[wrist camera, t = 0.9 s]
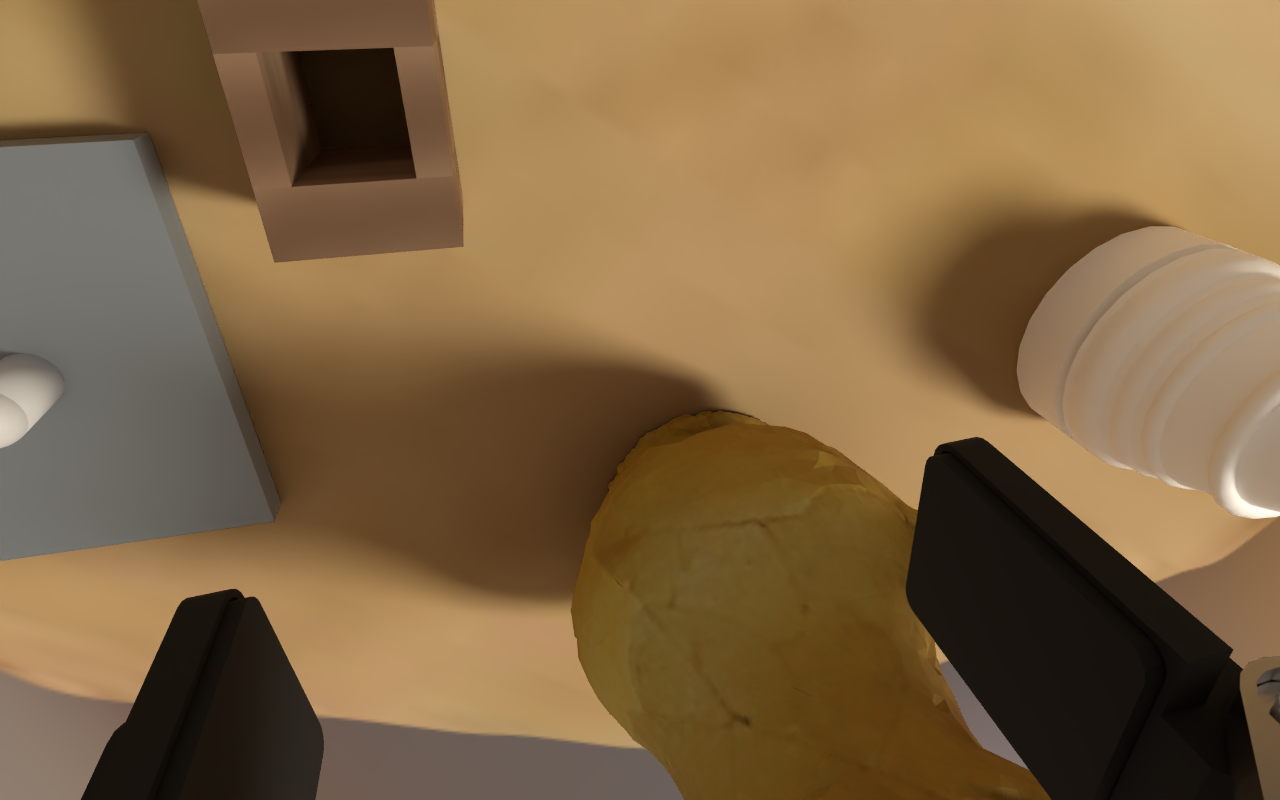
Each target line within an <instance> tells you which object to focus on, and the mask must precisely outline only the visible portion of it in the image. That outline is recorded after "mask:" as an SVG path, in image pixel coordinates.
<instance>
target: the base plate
mask: <svg viewBox="0 0 1280 800" xmlns="http://www.w3.org/2000/svg"><path fill="white" fill-rule="evenodd" d="M280 504H281V501H280V499H279V496H278V493H277V490H276V487H275V485H274V482H273V479H272V476H271V473H270V471H269V468H268V465H267V462H266V459H265V457H264V454H263V451H262V448H261V445H260V443H259V440H258V437H257V434H256V431H255V429H254V426H253V423H252V420H251V417H250V415H249V412H248V409H247V406H246V403H245V401H244V398H243V395H242V392H241V389H240V387H239V384H238V381H237V378H236V375H235V373H234V370H233V367H232V364H231V361H230V359H229V356H228V353H227V350H226V347H225V345H224V342H223V339H222V336H221V333H220V331H219V328H218V325H217V322H216V319H215V317H214V314H213V311H212V308H211V305H210V303H209V300H208V297H207V294H206V291H205V289H204V286H203V283H202V280H201V277H200V275H199V272H198V269H197V266H196V263H195V261H194V258H193V255H192V252H191V249H190V247H189V244H188V241H187V238H186V235H185V233H184V230H183V227H182V224H181V221H180V219H179V216H178V213H177V210H176V207H175V205H174V202H173V199H172V196H171V193H170V191H169V188H168V185H167V182H166V179H165V177H164V174H163V171H162V168H161V165H160V163H159V160H158V157H157V154H156V151H155V149H154V146H153V143H152V140H151V137H150V135H149V132H144V133H125V134H106V135H88V136H69V137H50V138H31V139H12V140H0V561H4V560H11V559H18V558H25V557H32V556H39V555H46V554H53V553H60V552H67V551H74V550H81V549H88V548H95V547H102V546H109V545H115V544H122V543H129V542H136V541H143V540H150V539H157V538H164V537H171V536H178V535H185V534H192V533H199V532H206V531H213V530H220V529H227V528H234V527H241V526H248V525H255V524H262V523H269V522H275V519H276V516H277V513H278V510H279V507H280Z"/></svg>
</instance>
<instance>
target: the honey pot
mask: <svg viewBox="0 0 1280 800" xmlns="http://www.w3.org/2000/svg"><path fill="white" fill-rule="evenodd" d="M1016 371H1017V377H1018V382H1019V388H1020V392H1021V394H1022V395H1023V397H1024V399H1025V400H1026V402H1027V403H1028V405H1029V407H1030V408H1031V409H1033V410H1034V411H1035V412H1037V413H1038V414H1039V415H1041V416H1042V417H1043V418H1045V419H1046V420H1047V421H1049V422H1050V423H1051V424H1053V425H1054V426H1055V427H1057V428H1058V429H1059V430H1061V431H1062V432H1063V433H1065V434H1066V435H1067V436H1069V437H1070V438H1072V439H1073V440H1074V441H1075V442H1077V443H1078V444H1080V445H1081V446H1082V447H1084V448H1085V449H1086V450H1087V451H1088V452H1090V453H1091V454H1093V455H1094V456H1096V457H1097V458H1099V459H1100V460H1102V461H1103V462H1105V463H1108V464H1110V465H1112V466H1116V467H1121V468H1125V469H1130V470H1135V471H1136V472H1138V473H1140V474H1142V475H1146V476H1150V477H1155V478H1159V479H1160V480H1161V481H1163V482H1164V483H1166V484H1168V485H1170V486H1175V487H1180V488H1184V489H1195V490H1199V491H1202V492H1205V493H1209V494H1212V495H1213V497H1214V500H1215V502H1216V503H1217V504H1218V505H1220V506H1221V507H1223V508H1224V509H1225V510H1227V511H1228V512H1229V513H1231V514H1233V515H1237V516H1242V517H1247V518H1253V519H1258V518H1268V517H1276V516H1279V515H1280V265H1278V264H1277V263H1275V262H1272V261H1270V260H1267V259H1265V258H1262V257H1260V256H1257V255H1253V254H1250V253H1247V252H1245V251H1242V250H1240V249H1236V248H1233V247H1231V246H1228V245H1226V244H1223V243H1220V242H1217V241H1214V240H1212V239H1209V238H1206V237H1203V236H1200V235H1197V234H1194V233H1192V232H1189V231H1186V230H1183V229H1180V228H1177V227H1173V226H1149V227H1145V228H1142V229H1138V230H1134V231H1131V232H1127V233H1123V234H1121V235H1119V236H1117V237H1115V238H1113V239H1111V240H1109V241H1108V242H1106V243H1104V244H1102V245H1100V246H1098V247H1096V248H1094V249H1093V250H1092V251H1090V252H1089V253H1088V254H1087V255H1085V256H1084V257H1083V258H1082V259H1080V260H1079V261H1078V262H1077V263H1075V264H1074V265H1073V266H1071V267H1070V268H1069V269H1068V270H1067V271H1066V272H1065V273H1064V274H1063V275H1062V276H1061V278H1060V279H1059V280H1058V281H1057V282H1056V283H1055V284H1054V285H1053V287H1052V288H1051V289H1050V290H1049V291H1048V292H1047V293H1046V295H1045V296H1044V298H1043V299H1042V301H1041V303H1040V304H1039V306H1038V307H1037V309H1036V311H1035V312H1034V314H1033V315H1032V317H1031V319H1030V320H1029V323H1028V325H1027V328H1026V331H1025V333H1024V336H1023V339H1022V341H1021V344H1020V347H1019V354H1018V362H1017V370H1016Z"/></svg>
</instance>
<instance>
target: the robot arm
mask: <svg viewBox="0 0 1280 800" xmlns="http://www.w3.org/2000/svg"><path fill="white" fill-rule="evenodd" d="M906 596H907V600H908V603H909V605H910V607H911V609H912V611H913V612H914V614H915V615H916V616H917V618H918V619H919V620H920V622H921V623H922V625H923V626H924V627H925V629H926V630H927V631H928V633H929V634H930V635H931V637H932V638H933V639H934V641H935V642H936V644H937V645H938V646H939V648H940V649H941V650H942V652H943V653H944V654H945V656H946V657H947V659H948V660H949V661H950V663H951V664H952V665H953V667H954V668H955V669H956V671H957V672H958V673H959V675H960V676H961V678H962V679H963V680H964V682H965V683H966V684H967V685H968V687H969V688H970V690H971V691H972V692H973V694H974V695H975V696H976V698H977V699H978V700H979V702H980V703H981V704H982V706H983V707H984V709H985V710H986V711H987V713H988V714H989V716H990V717H991V718H992V720H993V721H994V722H995V723H996V725H997V726H998V728H999V729H1000V730H1001V732H1002V733H1003V734H1004V736H1005V737H1006V739H1007V740H1008V741H1009V743H1010V744H1011V745H1012V747H1013V748H1014V750H1015V751H1016V752H1017V754H1018V755H1019V756H1020V758H1021V759H1022V760H1023V762H1024V763H1025V764H1026V766H1027V767H1028V769H1029V770H1030V771H1031V773H1032V774H1033V775H1034V777H1035V778H1036V779H1037V781H1038V782H1039V783H1040V785H1041V786H1042V788H1043V789H1044V790H1045V792H1046V793H1047V794H1048V796H1049V797H1050V798H1051V800H1280V656H1272V657H1262V658H1259V659H1257V660H1254V661H1251V662H1249V663H1248V664H1247V665H1246V667H1245V668H1244V669H1242V668H1241V667H1240V666H1239V665H1237V664H1236V663H1235V662H1234V661H1233V660H1232V659H1230V658H1229V657H1230V655H1231V653H1232V651H1233V649H1232V648H1231V647H1230V646H1228V645H1227V644H1226V643H1225V642H1224V641H1222V640H1221V639H1220V638H1219V637H1218V636H1216V635H1215V634H1214V633H1213V632H1212V631H1211V630H1210V629H1208V628H1207V627H1206V626H1204V624H1202V623H1201V622H1200V621H1199V620H1198V619H1197V618H1195V617H1194V616H1193V615H1192V614H1191V613H1189V612H1188V611H1187V610H1186V609H1185V608H1184V607H1182V606H1181V605H1180V604H1179V603H1178V602H1176V601H1175V600H1174V599H1173V598H1172V597H1171V596H1169V595H1168V594H1167V593H1166V592H1165V591H1163V590H1162V589H1161V588H1160V587H1159V586H1158V585H1156V584H1155V583H1154V582H1153V581H1152V580H1151V579H1149V578H1148V577H1147V576H1146V575H1145V574H1143V573H1142V572H1141V571H1140V570H1139V569H1138V568H1136V567H1135V566H1134V565H1133V564H1132V563H1130V562H1129V561H1128V560H1127V559H1126V558H1125V557H1123V556H1122V555H1121V554H1120V553H1119V552H1117V551H1116V550H1115V549H1114V548H1113V547H1112V546H1110V545H1109V544H1108V543H1107V542H1106V541H1104V540H1103V539H1102V538H1101V537H1100V536H1099V535H1097V534H1096V533H1095V532H1094V531H1093V530H1091V529H1090V528H1089V527H1088V526H1087V525H1086V524H1084V523H1083V522H1082V521H1081V520H1080V519H1079V518H1077V517H1076V516H1075V515H1074V514H1073V513H1071V512H1070V511H1069V510H1068V509H1067V508H1066V507H1064V506H1063V505H1062V504H1061V503H1060V502H1058V501H1057V500H1056V499H1055V498H1054V497H1053V496H1051V495H1050V494H1049V493H1048V492H1047V491H1045V490H1044V489H1043V488H1042V487H1041V486H1040V485H1038V484H1037V483H1036V482H1035V481H1034V480H1032V479H1031V478H1030V477H1029V476H1028V475H1027V474H1025V473H1024V472H1023V471H1022V470H1021V469H1020V468H1018V467H1017V466H1016V465H1015V464H1014V463H1012V462H1011V461H1010V460H1009V459H1008V458H1007V457H1005V456H1004V455H1003V454H1002V453H1001V452H999V451H998V450H997V449H996V448H995V447H994V446H992V445H991V444H990V443H989V442H988V441H986V440H984V439H983V438H979V437H974V438H969V439H964V440H959V441H954V442H949V443H945V444H941V445H939V446H938V447H937V449H936V450H935V453H934V456H931V457H929V458H928V460H927V462H926V465H925V471H924V477H923V483H922V489H921V495H920V501H919V507H918V513H917V520H916V526H915V532H914V538H913V544H912V550H911V556H910V562H909V568H908V574H907V581H906ZM323 750H324V740H323V733H322V728H321V725H320V723H319V721H318V719H317V717H316V715H315V713H314V711H313V708H312V706H311V704H310V702H309V700H308V698H307V696H306V694H305V692H304V690H303V688H302V686H301V684H300V682H299V680H298V678H297V676H296V674H295V672H294V670H293V668H292V666H291V664H290V662H289V660H288V658H287V656H286V654H285V652H284V650H283V648H282V646H281V644H280V642H279V640H278V638H277V636H276V634H275V632H274V630H273V628H272V626H271V624H270V622H269V620H268V618H267V616H266V614H265V612H264V610H263V608H262V606H261V604H260V602H259V601H258V599H257V598H255V597H247V598H244V596H243V595H242V593H241V592H240V591H238V590H237V589H229V590H224V591H219V592H214V593H210V594H205V595H200V596H195V597H190V598H186V599H185V600H183V601H182V602H181V603H180V605H179V606H178V608H177V610H176V612H175V614H174V617H173V619H172V621H171V623H170V625H169V628H168V630H167V632H166V634H165V636H164V639H163V641H162V643H161V645H160V647H159V650H158V652H157V654H156V656H155V659H154V661H153V663H152V665H151V667H150V670H149V672H148V674H147V676H146V678H145V681H144V683H143V685H142V687H141V689H140V692H139V694H138V696H137V698H136V701H135V703H134V705H133V707H132V709H131V712H130V714H129V716H128V718H127V720H126V722H125V723H123V724H122V725H121V726H120V727H119V728H118V729H117V730H116V731H115V732H114V733H113V735H112V736H111V738H110V740H109V742H108V743H107V745H106V747H105V749H104V751H103V753H102V755H101V757H100V760H99V762H98V764H97V766H96V768H95V771H94V773H93V775H92V777H91V779H90V781H89V783H88V785H87V788H86V790H85V792H84V794H83V796H82V798H81V800H315V798H316V792H317V787H318V781H319V775H320V770H321V764H322V758H323Z"/></svg>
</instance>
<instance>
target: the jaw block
mask: <svg viewBox="0 0 1280 800" xmlns="http://www.w3.org/2000/svg"><path fill="white" fill-rule="evenodd" d="M197 3H198V6H199V10H200V13H201V16H202V20H203V23H204V26H205V30H206V33H207V36H208V40H209V43H210V47H211V50H212V53H213V57H214V60H215V63H216V67H217V70H218V74H219V77H220V80H221V84H222V87H223V90H224V94H225V97H226V101H227V104H228V107H229V111H230V114H231V117H232V121H233V124H234V128H235V131H236V134H237V138H238V141H239V144H240V148H241V151H242V154H243V158H244V161H245V165H246V168H247V171H248V175H249V178H250V181H251V185H252V188H253V192H254V195H255V198H256V202H257V205H258V208H259V212H260V215H261V219H262V222H263V225H264V229H265V232H266V235H267V239H268V242H269V246H270V249H271V252H272V256H273V259H274V262H287V261H299V260H311V259H322V258H334V257H346V256H358V255H370V254H382V253H394V252H406V251H417V250H429V249H441V248H453V247H463V198H462V191H461V184H460V177H459V170H458V163H457V157H456V150H455V143H454V136H453V129H452V122H451V116H450V109H449V102H448V95H447V88H446V81H445V74H444V68H443V61H442V54H441V47H440V40H439V33H438V27H437V20H436V13H435V6H434V0H197ZM368 48H394V53H395V59H396V64H397V70H398V76H399V81H400V87H401V93H402V98H403V104H404V110H405V115H406V121H407V127H408V132H409V138H410V144H411V145H394V146H377V147H360V148H343V149H326V150H322V148H321V144H320V139H319V135H318V131H317V127H316V123H315V119H314V114H313V110H312V106H311V102H310V98H309V94H308V89H307V85H306V81H305V77H304V73H303V69H302V64H301V60H300V56H299V52H298V51H313V50H340V49H368Z"/></svg>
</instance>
